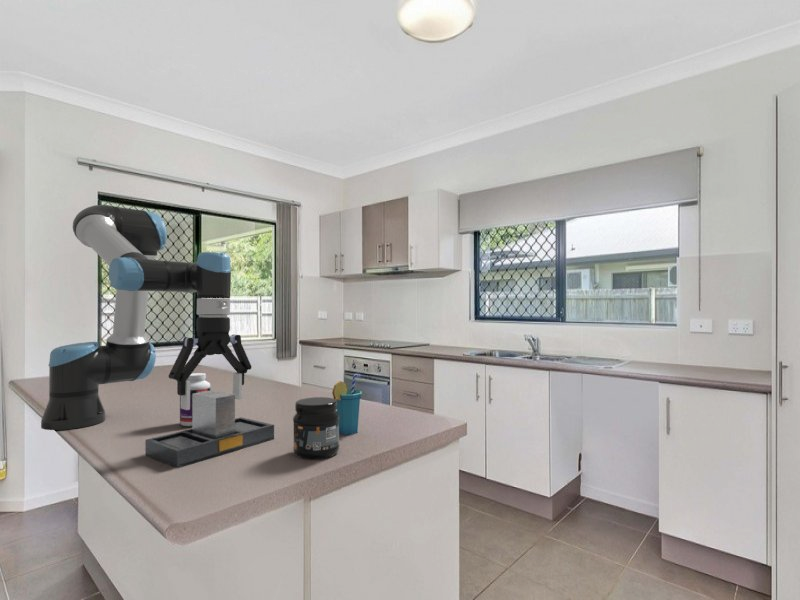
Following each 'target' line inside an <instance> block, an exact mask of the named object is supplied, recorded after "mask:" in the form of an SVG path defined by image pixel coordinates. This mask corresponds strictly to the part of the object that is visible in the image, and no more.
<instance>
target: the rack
mask: <svg viewBox="0 0 800 600" xmlns="http://www.w3.org/2000/svg"><path fill="white" fill-rule="evenodd" d="M274 439H275V424H272V423H267V422H263V421H259V420H254V419H250V418H246V417H241V416H240V417H235V434H233V435H230V436H226V437H222V438H218V439H215V440H214V439H210V438H207V437H204V436H200V435H197V434H194V433H192V428H190V429H185V430H182V431H178V432H177V431H176V432H173V433H168V434H165V435H160V436H156V437H152V438H147V439H144V440H145V442H144V443H145V446H144V447H145V449H144V450H145V456H146V457H148V458H151V459H154V460H155V461H158V462H161V463H163V464H165V465H168V466H170V467H172V468H176V469H180V468H183V467H186V466H189V465H193V464H196V463H199V462H203V461H206V460H209V459H214V458H216V457H219V456H222V455H226V454H229V453H232V452H235V451H239V450H243V449H246V448H249V447H252V446H255V445H259V444H262V443H265V442H269V441H272V440H274Z"/></svg>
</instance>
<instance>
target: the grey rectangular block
mask: <svg viewBox="0 0 800 600" xmlns="http://www.w3.org/2000/svg"><path fill="white" fill-rule="evenodd" d="M235 419H236V399H235V395H233V393H226V392H222V391H217V390H212V389H210V391H205V392H199V393H193V394H192V426H191V429H192V433H194V434H197V435H200V436H204V437H207V438H210V439H214V440H215V439H218V438H222V437H226V436H230V435H233V434H235Z"/></svg>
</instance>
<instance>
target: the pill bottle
mask: <svg viewBox="0 0 800 600" xmlns="http://www.w3.org/2000/svg"><path fill="white" fill-rule="evenodd" d="M206 378H207V374H206V373H205V372H203V373H202V372H196V373H194V372H192V373H191V375H190V376H189V377H188V379H187V381H190V410H185V409H181V395H179V424H180V425H181V426H182V427H189V428H190V427H191V428H192V394H193V393H199V392H205V391H211V383H210V382H209V381H207V380H206Z"/></svg>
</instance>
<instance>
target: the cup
mask: <svg viewBox="0 0 800 600" xmlns="http://www.w3.org/2000/svg"><path fill="white" fill-rule="evenodd" d="M360 377H362V374H361V373H354V375H353V377H352V382H351V389H348V385H347V383H346V382H343V381H338V382H336V383H335V384H334V386H333V389H332V392H331V393H332V396H333V397H332V398H333V399H336V400H337V409H336V411H337V412H338V413H339V435H346V436H347V435H354V434H358V428H359V417H360V406H361V405H360V403H361V398H362V390H357V389H355V385H356V379H357V378H360Z"/></svg>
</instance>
